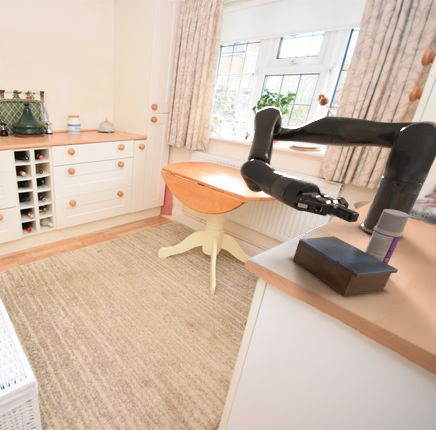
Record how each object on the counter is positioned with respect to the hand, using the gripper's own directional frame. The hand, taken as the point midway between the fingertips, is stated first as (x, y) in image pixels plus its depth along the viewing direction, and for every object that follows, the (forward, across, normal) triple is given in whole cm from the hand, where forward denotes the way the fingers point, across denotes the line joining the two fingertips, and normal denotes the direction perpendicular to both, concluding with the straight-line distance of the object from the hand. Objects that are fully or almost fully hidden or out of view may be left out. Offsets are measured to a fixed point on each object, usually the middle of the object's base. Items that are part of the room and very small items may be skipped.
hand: (355, 218), depth 62 cm
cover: (0, -1, -10) cm, 10 cm away
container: (-1, -13, -15) cm, 20 cm away
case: (-1, -2, -15) cm, 15 cm away
